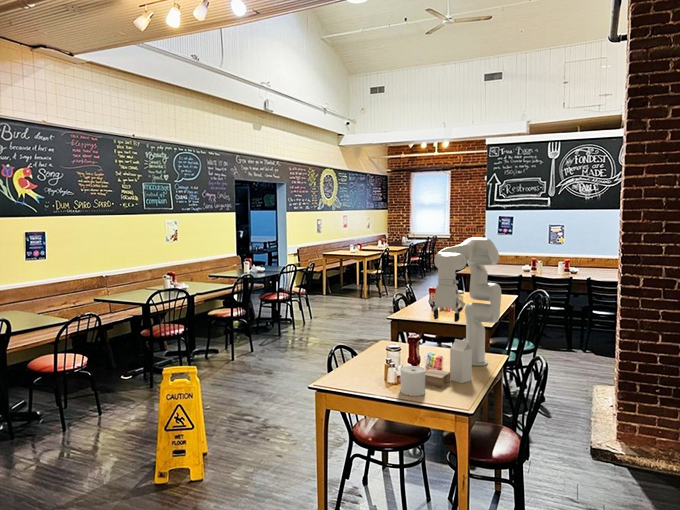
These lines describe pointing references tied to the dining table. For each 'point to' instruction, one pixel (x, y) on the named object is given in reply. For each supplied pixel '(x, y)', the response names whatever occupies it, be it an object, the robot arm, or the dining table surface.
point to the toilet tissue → (412, 380)
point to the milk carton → (460, 361)
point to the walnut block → (437, 378)
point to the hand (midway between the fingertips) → (446, 320)
